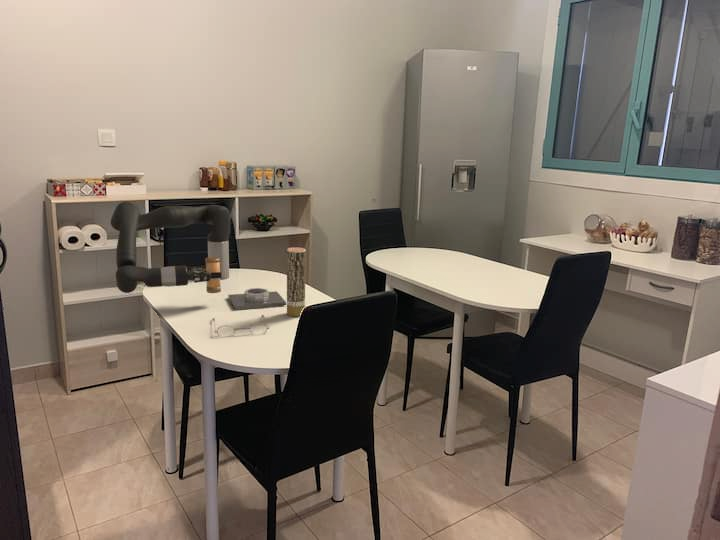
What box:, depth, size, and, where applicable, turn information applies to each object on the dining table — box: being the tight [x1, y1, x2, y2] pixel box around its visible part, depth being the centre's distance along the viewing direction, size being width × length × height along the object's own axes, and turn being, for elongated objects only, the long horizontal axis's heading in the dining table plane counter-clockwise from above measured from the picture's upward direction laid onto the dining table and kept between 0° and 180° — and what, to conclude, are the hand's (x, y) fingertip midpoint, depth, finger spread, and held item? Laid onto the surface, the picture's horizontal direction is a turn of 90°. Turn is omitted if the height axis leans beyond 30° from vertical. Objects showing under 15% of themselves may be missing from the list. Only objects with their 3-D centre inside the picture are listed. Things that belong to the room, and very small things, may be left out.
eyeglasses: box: [213, 314, 270, 336], centre depth 198 cm, size 18×19×4 cm
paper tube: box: [286, 246, 307, 317], centre depth 209 cm, size 7×7×25 cm
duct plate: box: [227, 287, 287, 311], centre depth 225 cm, size 16×20×4 cm
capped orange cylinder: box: [204, 256, 222, 294], centre depth 217 cm, size 5×5×13 cm
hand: (220, 273), depth 217 cm, fingers closed on capped orange cylinder, 5 cm apart
